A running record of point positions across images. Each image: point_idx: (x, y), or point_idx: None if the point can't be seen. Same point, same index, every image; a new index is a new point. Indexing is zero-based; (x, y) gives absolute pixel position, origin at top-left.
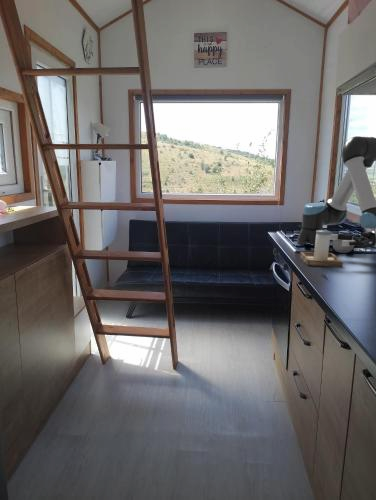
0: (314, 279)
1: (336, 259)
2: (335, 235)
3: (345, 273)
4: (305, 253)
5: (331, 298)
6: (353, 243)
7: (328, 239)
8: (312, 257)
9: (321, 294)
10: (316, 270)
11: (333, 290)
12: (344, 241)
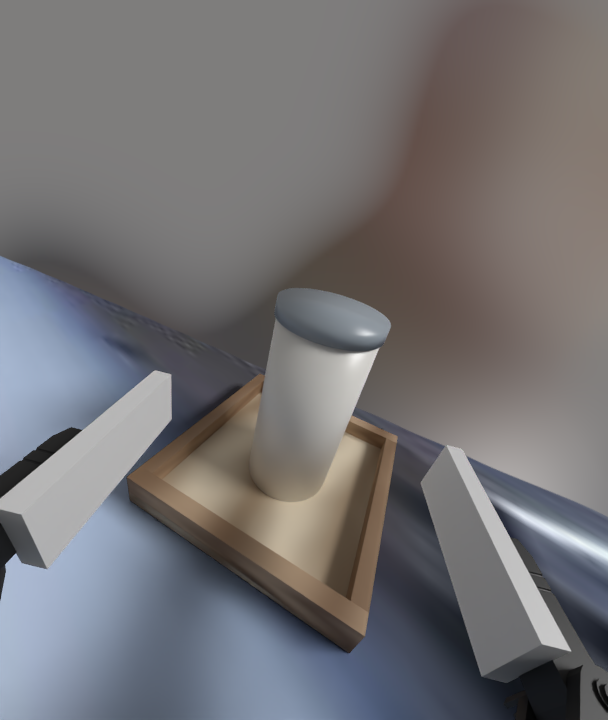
0: (139, 326)
1: (212, 517)
2: (499, 584)
3: (60, 422)
4: (382, 451)
5: (36, 281)
6: (27, 468)
7: (271, 351)
8: (335, 459)
9: (69, 285)
10: (191, 374)
11: (48, 302)
12: (144, 384)
